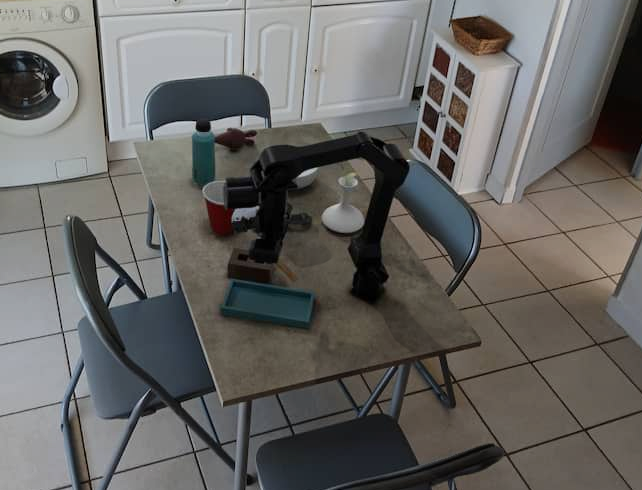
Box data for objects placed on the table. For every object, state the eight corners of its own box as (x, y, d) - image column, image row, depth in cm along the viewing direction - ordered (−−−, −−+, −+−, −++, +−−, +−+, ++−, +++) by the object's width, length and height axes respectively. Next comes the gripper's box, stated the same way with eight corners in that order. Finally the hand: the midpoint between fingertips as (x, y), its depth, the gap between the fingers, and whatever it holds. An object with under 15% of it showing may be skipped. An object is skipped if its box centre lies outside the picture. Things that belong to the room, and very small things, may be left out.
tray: (314, 298, 175) (315, 292, 173) (308, 328, 166) (309, 322, 165) (230, 285, 176) (231, 278, 175) (220, 314, 168) (220, 307, 167)
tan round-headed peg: (302, 274, 167) (261, 234, 162) (301, 279, 166) (260, 238, 161) (291, 280, 168) (250, 240, 163) (289, 285, 167) (249, 245, 162)
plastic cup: (251, 234, 192) (253, 197, 185) (213, 246, 187) (213, 207, 180) (232, 212, 199) (233, 175, 192) (195, 222, 194) (195, 184, 187)
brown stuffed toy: (213, 140, 216) (261, 138, 222) (207, 123, 220) (254, 120, 226) (209, 157, 221) (256, 154, 227) (203, 139, 225) (250, 137, 231)
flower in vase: (369, 234, 197) (383, 154, 182) (328, 239, 193) (339, 158, 179) (353, 206, 207) (364, 127, 192) (314, 210, 203) (322, 131, 189)
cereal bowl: (299, 161, 223) (300, 140, 219) (328, 189, 212) (330, 169, 208) (248, 173, 215) (249, 152, 211) (276, 204, 204) (277, 183, 200)
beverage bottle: (220, 182, 210) (221, 120, 198) (205, 193, 205) (205, 130, 194) (202, 174, 213) (201, 112, 201) (186, 184, 208) (185, 122, 196)
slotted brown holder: (273, 268, 182) (274, 254, 180) (269, 284, 177) (270, 269, 175) (233, 261, 183) (233, 247, 180) (227, 277, 178) (227, 263, 175)
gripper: (245, 174, 164) (243, 229, 173) (224, 223, 149) (223, 282, 158) (294, 181, 163) (290, 237, 172) (279, 232, 148) (275, 290, 157)
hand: (269, 260), depth 165 cm, fingers closed on tan round-headed peg, 2 cm apart
